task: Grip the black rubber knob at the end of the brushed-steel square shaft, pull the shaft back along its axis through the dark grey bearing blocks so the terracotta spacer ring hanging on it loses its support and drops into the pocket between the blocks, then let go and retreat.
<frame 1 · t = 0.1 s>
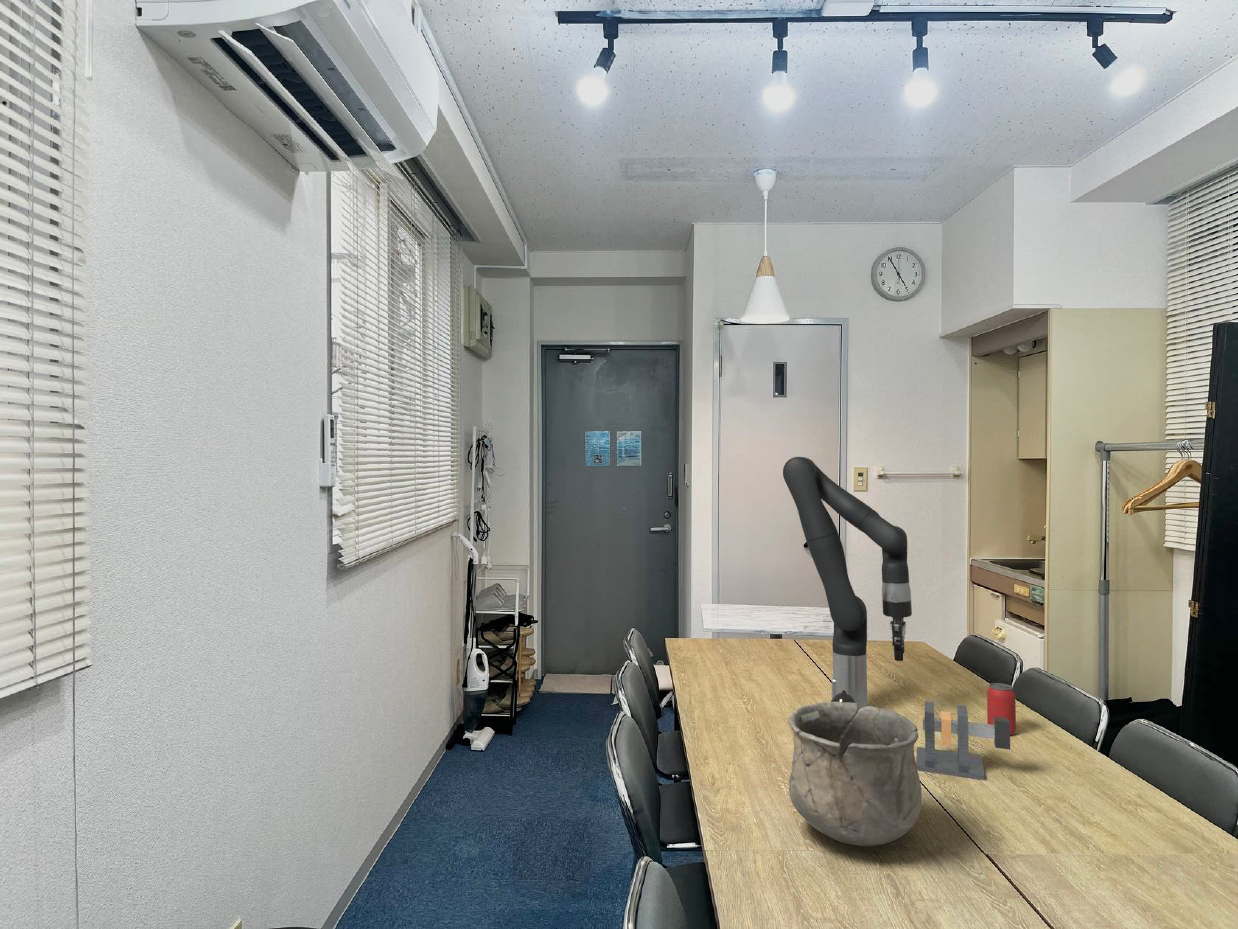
hand: (899, 656, 194), 17 cm above the table, tool pointing down, fingers open, 8 cm apart
shaft: (965, 728, 162), point 9 cm above the table, slide at 0.0 cm, touching spacer
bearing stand: (949, 764, 163), on the table
beer can: (1001, 732, 183), on the table
pump dispenser: (844, 756, 169), on the table
pot: (854, 834, 133), on the table
spacer: (946, 741, 163), point 5 cm above the table, touching shaft
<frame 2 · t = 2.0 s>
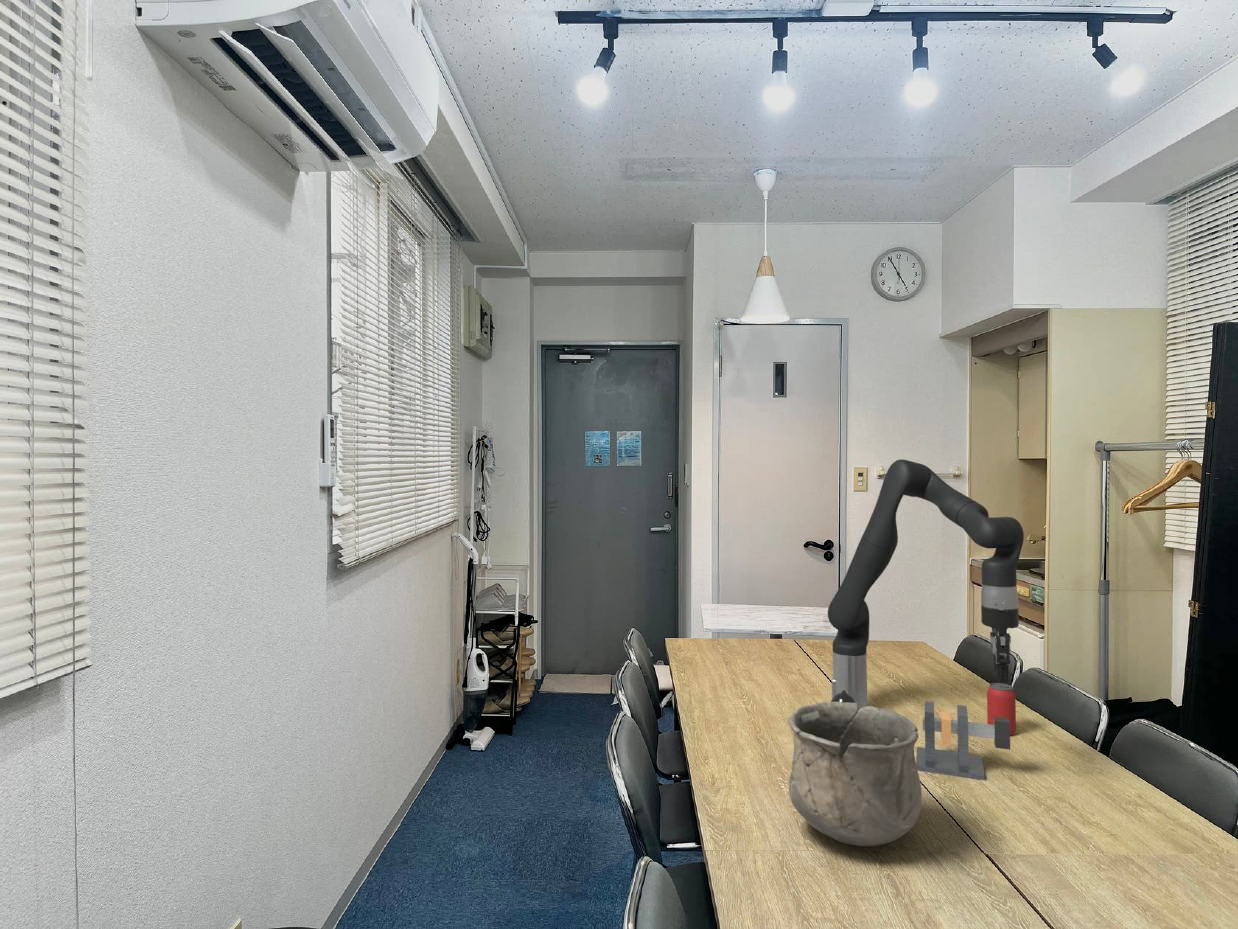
hand: (1001, 676, 159), 22 cm above the table, tool pointing down, fingers open, 8 cm apart
nothing on the table moved.
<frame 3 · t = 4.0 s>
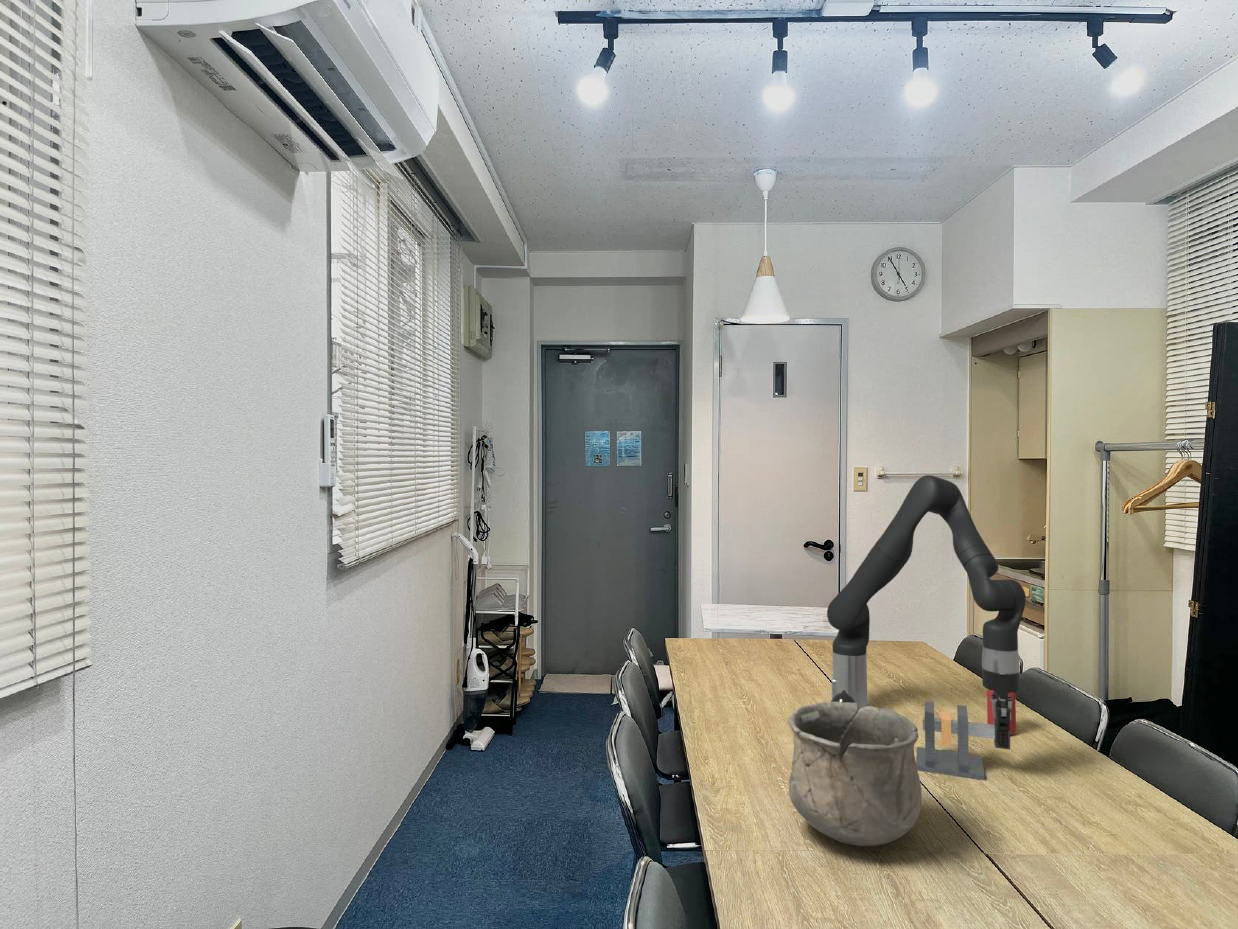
hand: (1002, 743, 159), 7 cm above the table, tool pointing down, fingers closed on shaft, 3 cm apart
shaft: (965, 728, 162), point 9 cm above the table, slide at 0.0 cm, touching gripper, spacer
everything else where it was.
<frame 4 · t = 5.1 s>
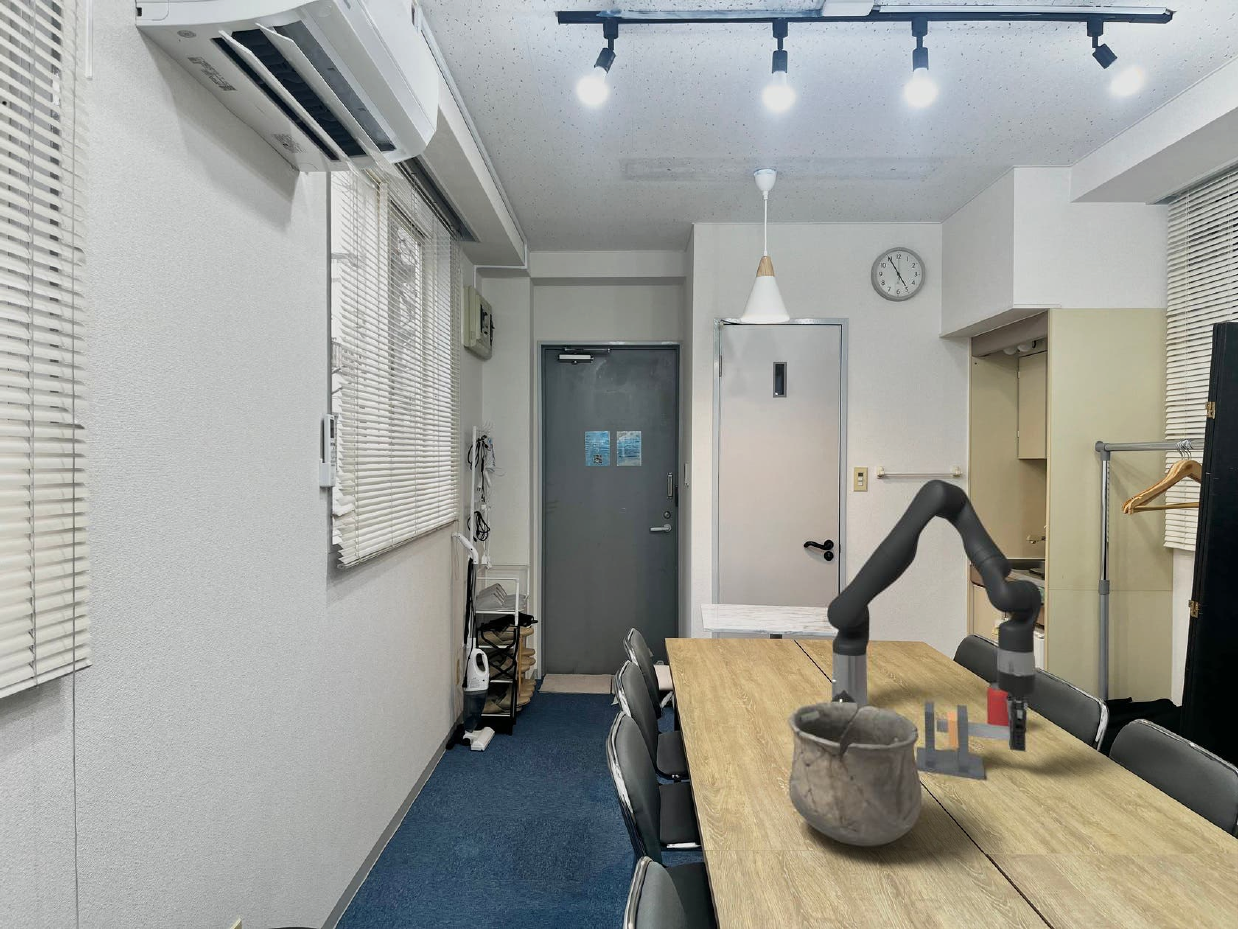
hand: (1017, 745, 157), 7 cm above the table, tool pointing down, fingers closed on shaft, 3 cm apart
shaft: (979, 730, 161), point 9 cm above the table, slide at 3.0 cm, touching gripper, spacer
spacer: (953, 742, 163), point 5 cm above the table, touching shaft
everything else where it was.
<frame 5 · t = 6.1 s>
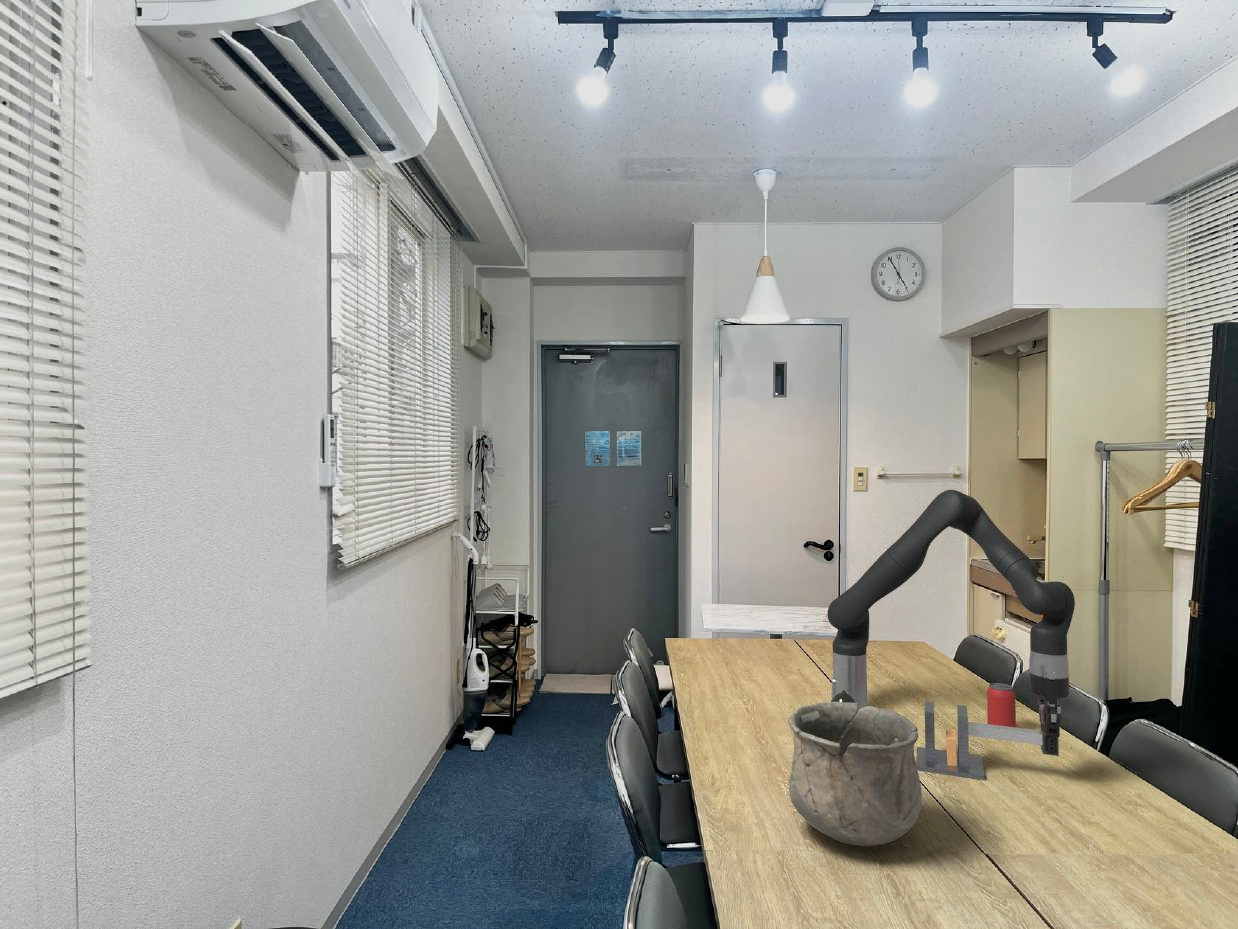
hand: (1049, 749, 155), 7 cm above the table, tool pointing down, fingers closed on shaft, 3 cm apart
shaft: (1010, 734, 158), point 9 cm above the table, slide at 9.3 cm, touching gripper
spacer: (951, 760, 163), point 1 cm above the table, touching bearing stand
everything else where it was.
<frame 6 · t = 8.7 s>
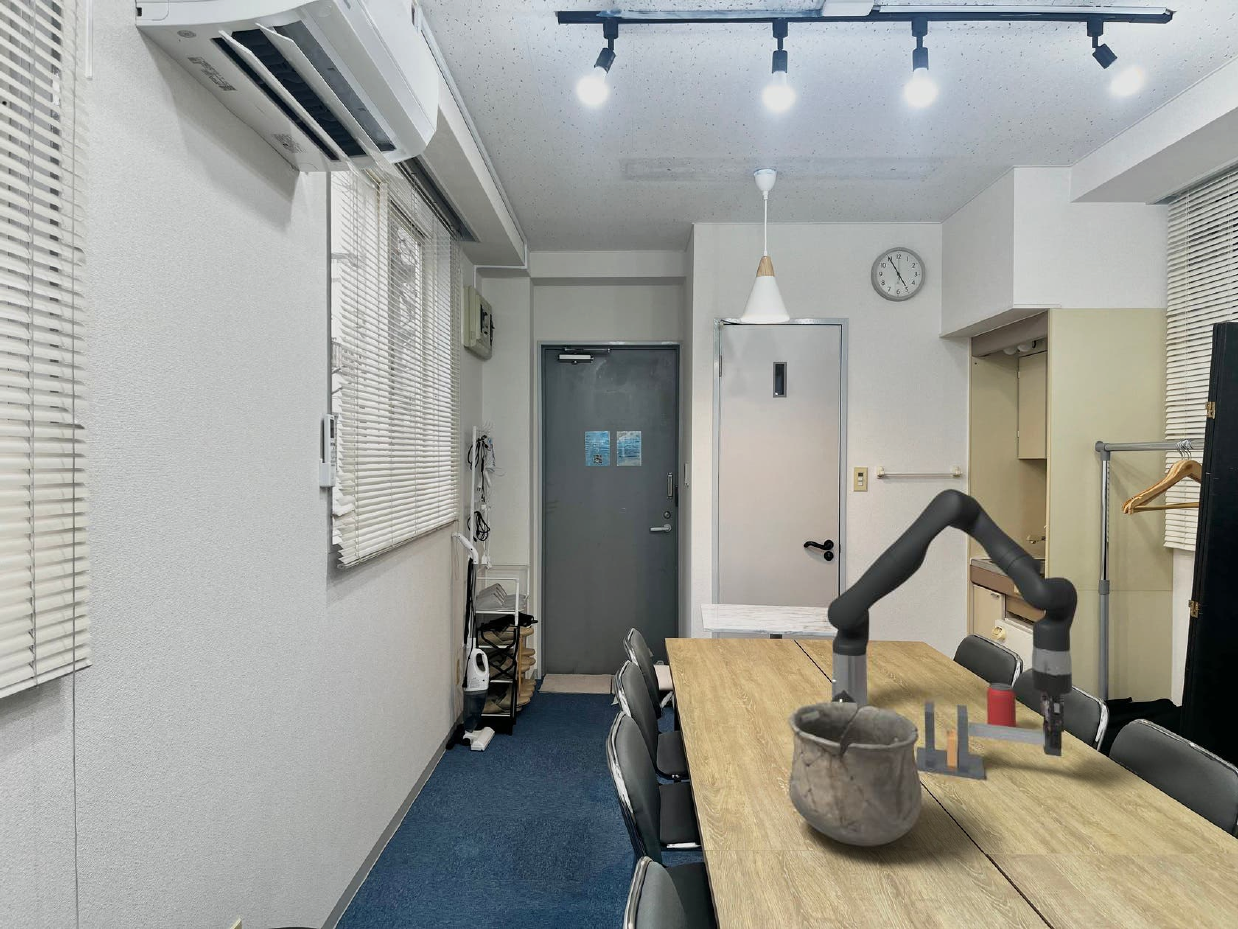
hand: (1052, 741, 155), 9 cm above the table, tool pointing down, fingers open, 8 cm apart
shaft: (1013, 734, 158), point 9 cm above the table, slide at 9.8 cm
everything else where it was.
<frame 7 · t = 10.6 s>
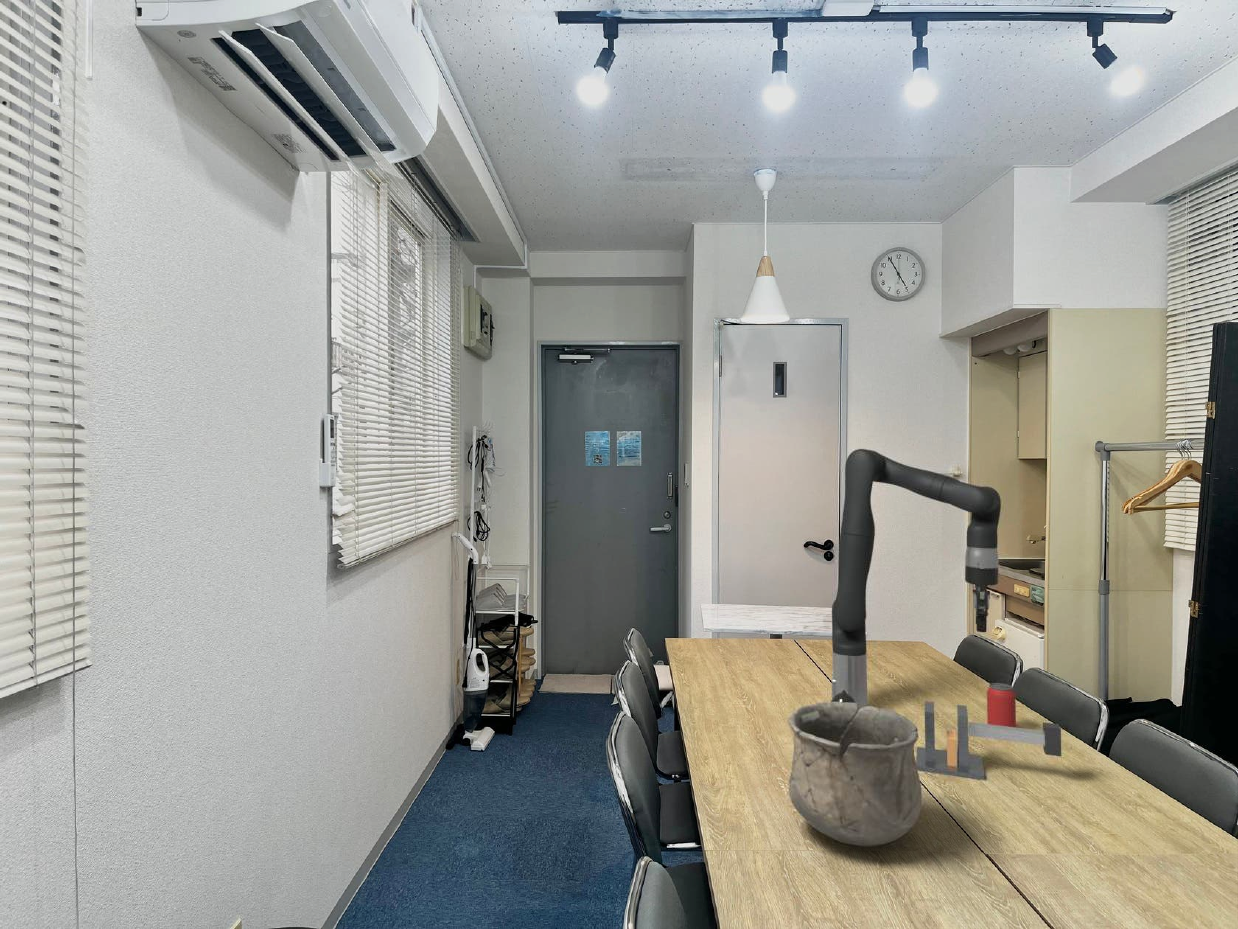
hand: (980, 628, 178), 29 cm above the table, tool pointing down, fingers open, 8 cm apart
nothing on the table moved.
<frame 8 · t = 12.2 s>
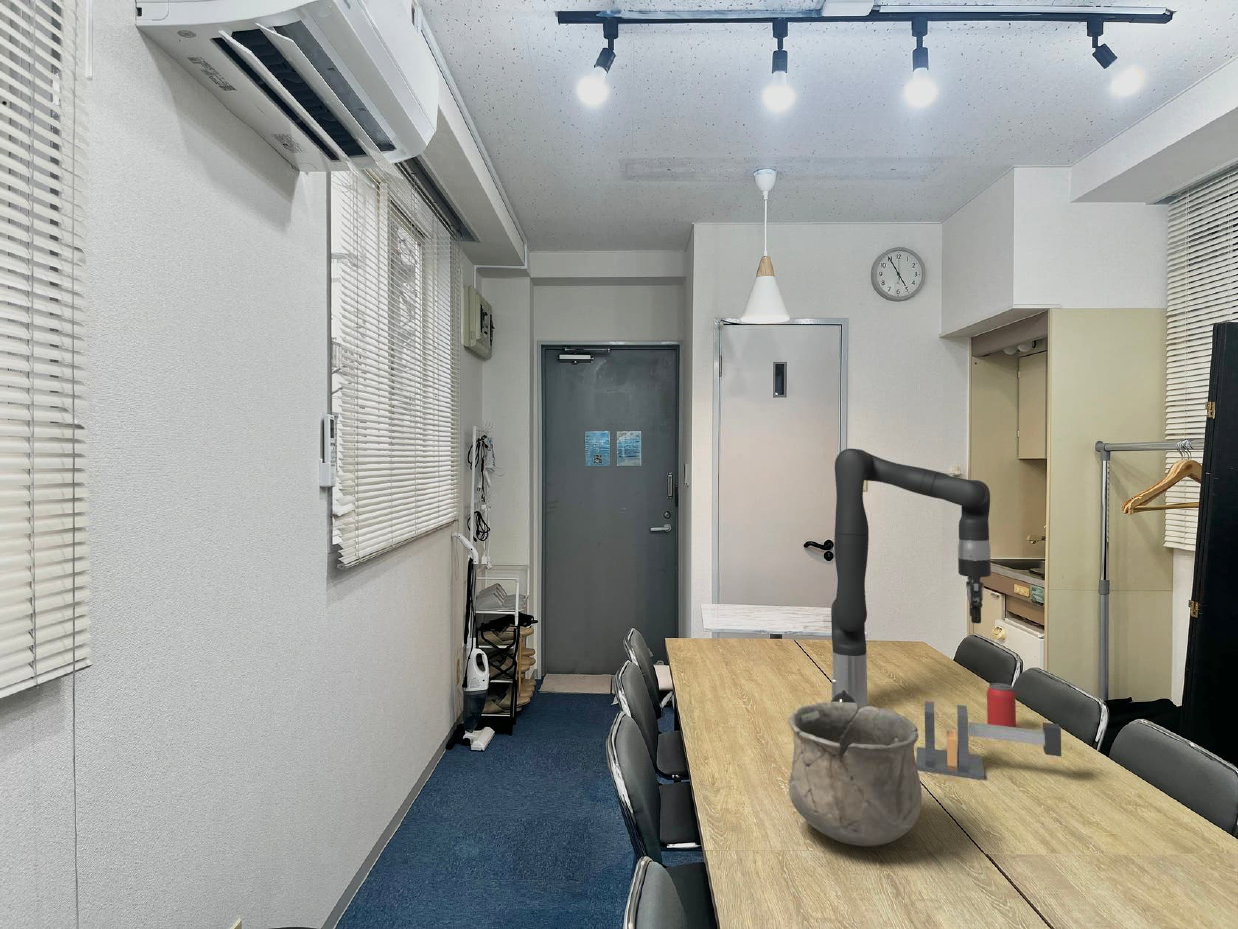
hand: (975, 619, 181), 30 cm above the table, tool pointing down, fingers open, 8 cm apart
nothing on the table moved.
at the end: shaft slide at 9.8 cm; spacer inside the target area (0.6 cm from its centre), point 1.0 cm above the table; the gripper is holding nothing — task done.
